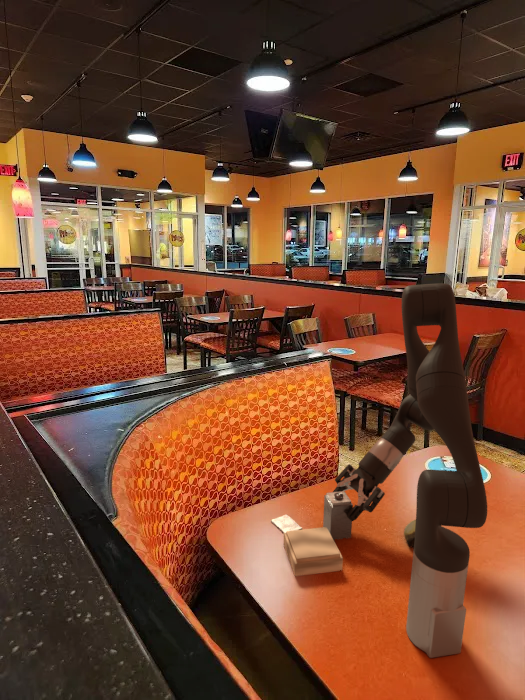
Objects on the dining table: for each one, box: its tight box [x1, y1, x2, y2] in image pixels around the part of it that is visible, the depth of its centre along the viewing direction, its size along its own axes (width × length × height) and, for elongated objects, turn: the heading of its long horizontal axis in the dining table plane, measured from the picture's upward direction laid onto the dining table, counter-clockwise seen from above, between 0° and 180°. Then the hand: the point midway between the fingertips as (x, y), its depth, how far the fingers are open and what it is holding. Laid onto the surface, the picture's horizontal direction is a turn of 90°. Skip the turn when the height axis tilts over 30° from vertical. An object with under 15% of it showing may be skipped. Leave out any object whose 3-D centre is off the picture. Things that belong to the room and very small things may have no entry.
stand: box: [283, 526, 344, 577], centre depth 106 cm, size 11×11×4 cm
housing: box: [322, 491, 354, 541], centre depth 115 cm, size 6×6×11 cm
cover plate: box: [270, 514, 303, 534], centre depth 119 cm, size 7×5×1 cm
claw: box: [403, 519, 416, 548], centre depth 116 cm, size 20×10×3 cm, turn 137°
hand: (340, 509), depth 115 cm, fingers open, 8 cm apart
